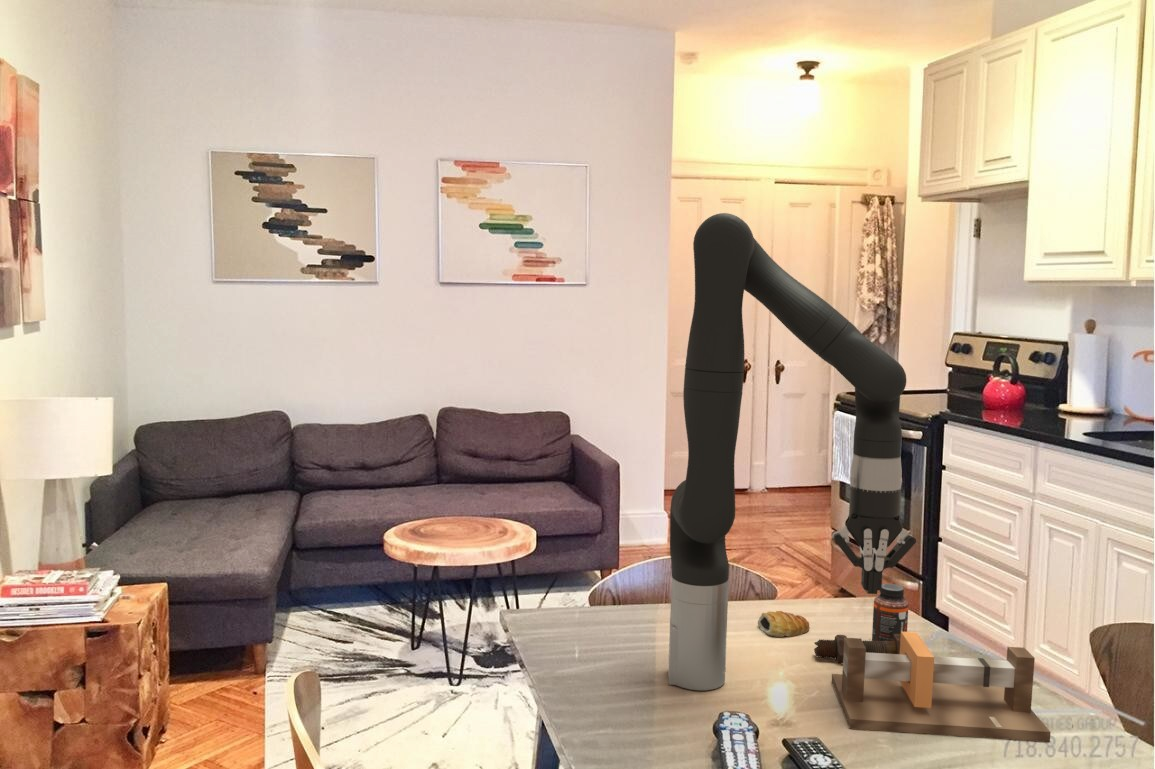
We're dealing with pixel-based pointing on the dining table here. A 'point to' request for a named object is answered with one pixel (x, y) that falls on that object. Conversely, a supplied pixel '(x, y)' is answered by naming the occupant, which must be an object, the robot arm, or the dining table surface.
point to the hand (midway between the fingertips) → (870, 592)
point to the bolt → (888, 647)
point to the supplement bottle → (889, 613)
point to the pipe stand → (940, 695)
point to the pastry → (782, 624)
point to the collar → (918, 669)
